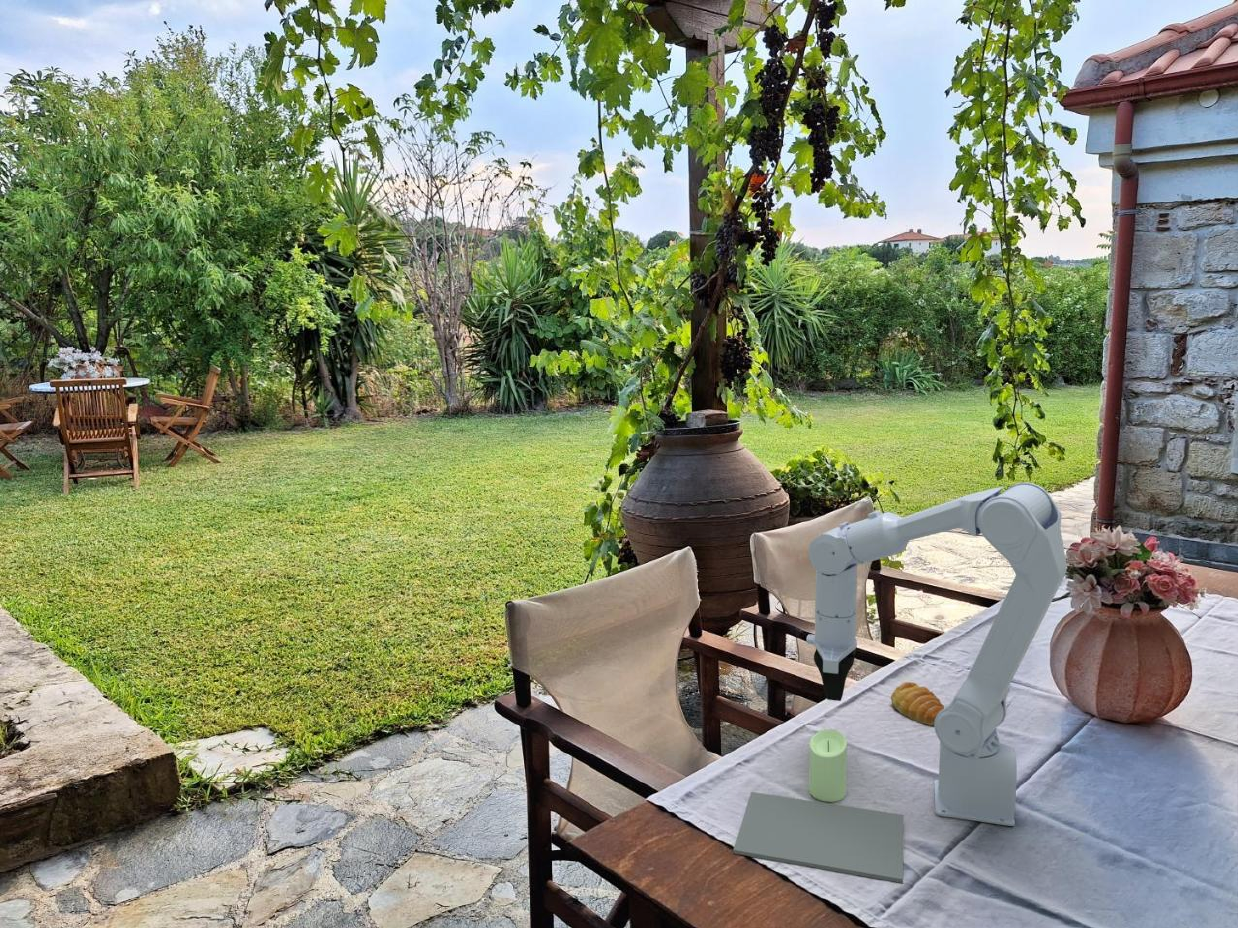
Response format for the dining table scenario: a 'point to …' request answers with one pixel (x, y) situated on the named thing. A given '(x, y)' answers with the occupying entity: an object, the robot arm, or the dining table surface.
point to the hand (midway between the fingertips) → (833, 698)
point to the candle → (828, 765)
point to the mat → (823, 836)
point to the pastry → (916, 703)
